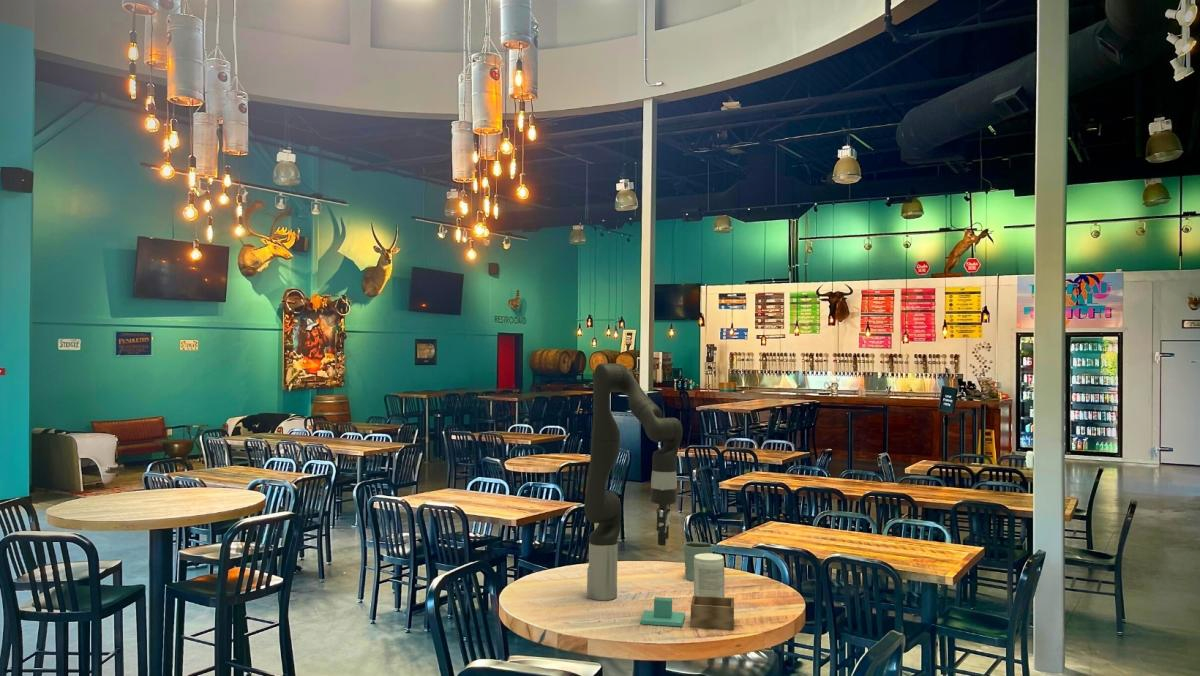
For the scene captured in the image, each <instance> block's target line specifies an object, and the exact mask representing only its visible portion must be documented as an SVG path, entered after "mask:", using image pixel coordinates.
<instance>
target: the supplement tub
mask: <svg viewBox="0 0 1200 676" xmlns="http://www.w3.org/2000/svg"><path fill="white" fill-rule="evenodd" d="M693 595H695V596H711V597H726V596H725V558H724V556H723V555H722V554H717V553H712V554H711V553H704V554H697V555H695V556H694V582H693Z"/></svg>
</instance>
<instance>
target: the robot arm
mask: <svg viewBox="0 0 1200 676" xmlns="http://www.w3.org/2000/svg"><path fill="white" fill-rule="evenodd" d="M593 371H594V372H593V376H592V388H593V389H592V396H593V397H592V399H593V407H592V408H593V413H592V414H593V417H592V427H591V428H592V431H591V438H590V439H591V440H590V441H591V442H590V459H589V469H588V470H589V471H588V479H587V485H586V491H585V498H584V505H583V506H584V507H583V508H584V509H583V510H584V515H585V518H586V519H587V521H589V523H592V524H598V525H597V527H596V528H595V529H594V530H593V531H591V532H590V533H589V536H588V567H587V572H586V573H587V576H586V577H587V578H586V581H587V582H586V585H587V586H586V598H587V599H591V600H597V601H611V600H614V599H616V598H617V597H618V543H619V542H618V540H619V537H620V534H621V520H622V504H621V503H622V502H621V500H620V497H619V496H618V495H617V494H616V493H614V492H611V491H607V492H606V487H607V486H606V485H607V481H608V478H609V475H610V474H611V471H612V469H613V468H614V466H615V464H616V462H617V459H618V457H619V455H620V454H619V453H620V445H621V431H620V428H619V426H618V424H617V422H616V420H615V418H614V417H613V414H612V411H611V409H610V393H620V392H621V394H624V395H625V396H627V397H628V407H629V409H630V411H631V413H632V415H633V416H634V417H635V418H636V419H637V421H639V422H640V423H641V424H642V427H643V430H644V432H645V434H646V436H647V437H648V439H650V440H651V441H652V442H654V443H664V444H663V446H662V448H660V449H657V450H655V451H653V453H652V458H651V459H652V460H651V461H652V467H651V469H652V471H651V477H650V479H651V481H650V501H651V503H653V504H658V507H657V509H656V512H655V514H656V521H655V522H656V529H655V530H656V532H657V545H658V546H660V547H661V546H666V544H667V540H668V539H670V538H669V535H670V534H669V533H670V528H669V526H670V522H671V518H672V517H671V515H672V514H671V513H672V509H671V505H673V504H676V503H677V502H678V501H677V500H678V498H677V497H678V477H677V476H678V475H677V456H678V454H679V451H680V450H679V449H680V445H681V442H682V439H683V432H684V431H683V425H682V423H681V421H680V420H679V419H678V418H676V417H663V413H662V410H661V409H660V407H659V406H658V405H657V404H656V403H655V402H654V401H653V400H652V399H651V398H650V397H649V396H648V395H647V394H646V393H645V391H644V390H643V388H642V387H641V386H640V384H639V383H638V381H637V379H636V378H635V377H634V375H633V372H631V370H630V369H629V368H628V367H627V366H626V365H624V364H622V363H610V362H609V363H607V362H606V363H605V362H603V363H598V364H597V365H596V367H595V368H594V370H593Z"/></svg>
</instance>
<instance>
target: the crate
mask: <svg viewBox="0 0 1200 676" xmlns="http://www.w3.org/2000/svg"><path fill="white" fill-rule="evenodd" d="M691 597H692V598H691V603H690V628H692V629H693V628H694V629H695V628H696V629H709V630H721V631H723V630H725V631H727V630H728V631H734V625H735V624H734V623H735V598H734V597H726V596H724V597H711V596H695V595H694V594H693V595H692V596H691Z"/></svg>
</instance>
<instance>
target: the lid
mask: <svg viewBox="0 0 1200 676" xmlns="http://www.w3.org/2000/svg"><path fill="white" fill-rule="evenodd" d="M685 617H686V612H685V611H684V612H681V611H673V598H672V597H663V596H662V597H660V596H658V597H657V596H655V597H654V599H653V610H650V609H644V611H643V613H642V615H641V617H640V620H639V624H640V625H650V626H651V625H654V626H668V627H681V628H682V627H683V624H684V621H685Z"/></svg>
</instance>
